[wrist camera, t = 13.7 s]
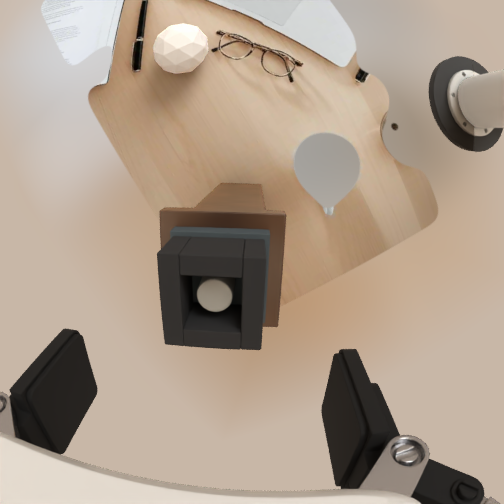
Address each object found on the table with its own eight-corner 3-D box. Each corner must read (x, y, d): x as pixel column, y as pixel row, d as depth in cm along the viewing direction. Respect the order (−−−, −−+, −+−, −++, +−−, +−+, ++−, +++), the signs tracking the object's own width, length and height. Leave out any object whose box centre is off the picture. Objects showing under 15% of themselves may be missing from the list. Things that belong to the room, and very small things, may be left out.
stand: (268, 177, 46) (286, 214, 20) (265, 230, 49) (277, 327, 22) (214, 176, 46) (159, 210, 20) (213, 228, 49) (165, 321, 22)
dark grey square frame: (264, 238, 19) (266, 257, 16) (260, 320, 21) (261, 350, 17) (172, 235, 19) (156, 253, 16) (177, 316, 21) (164, 344, 17)
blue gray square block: (269, 229, 20) (272, 245, 17) (264, 314, 22) (265, 343, 18) (174, 226, 20) (158, 241, 17) (178, 310, 22) (166, 338, 18)
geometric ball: (202, 55, 43) (229, 45, 37) (167, 87, 42) (190, 80, 36) (172, 22, 38) (196, 6, 32) (135, 54, 37) (153, 40, 31)
